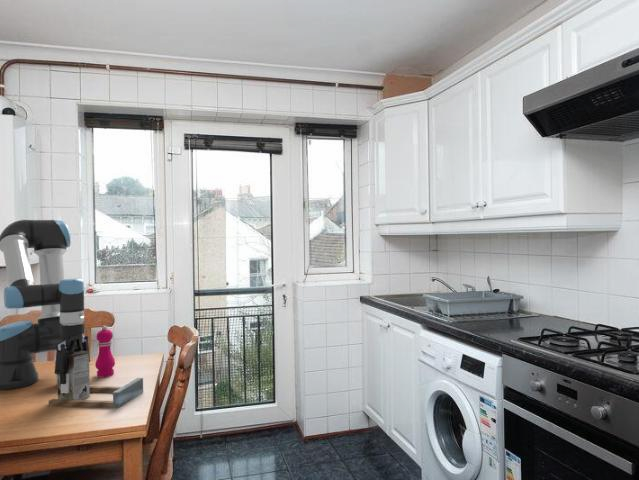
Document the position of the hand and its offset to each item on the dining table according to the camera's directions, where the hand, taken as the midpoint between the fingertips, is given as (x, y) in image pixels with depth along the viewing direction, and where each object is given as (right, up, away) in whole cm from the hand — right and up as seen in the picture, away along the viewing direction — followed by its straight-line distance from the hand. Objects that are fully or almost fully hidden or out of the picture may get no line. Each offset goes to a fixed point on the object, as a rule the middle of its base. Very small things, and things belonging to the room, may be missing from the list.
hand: (73, 388), depth 154 cm
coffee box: (0, -3, 0) cm, 3 cm away
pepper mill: (-2, -3, +26) cm, 27 cm away
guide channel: (+8, -3, -1) cm, 9 cm away
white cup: (-11, -4, +15) cm, 19 cm away
